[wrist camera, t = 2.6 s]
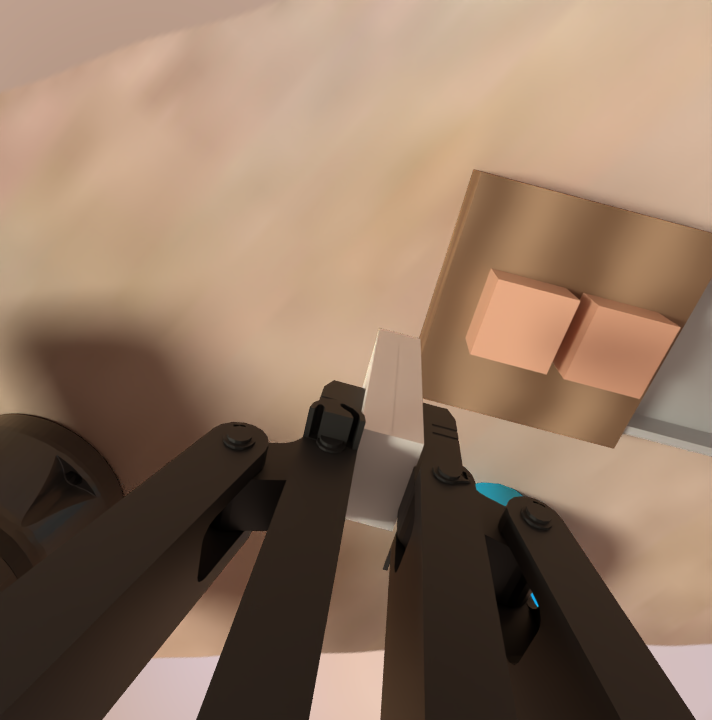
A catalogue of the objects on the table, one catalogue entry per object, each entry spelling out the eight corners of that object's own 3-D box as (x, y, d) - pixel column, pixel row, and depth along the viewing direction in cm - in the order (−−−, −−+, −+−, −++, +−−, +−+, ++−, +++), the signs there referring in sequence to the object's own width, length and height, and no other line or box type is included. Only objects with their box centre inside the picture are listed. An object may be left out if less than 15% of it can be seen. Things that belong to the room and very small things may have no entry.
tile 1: (551, 361, 29) (563, 379, 27) (583, 292, 27) (598, 305, 25) (622, 379, 29) (639, 399, 27) (658, 312, 27) (680, 327, 25)
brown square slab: (408, 371, 34) (408, 394, 31) (473, 169, 29) (481, 172, 25) (594, 420, 35) (613, 448, 31) (697, 229, 29) (733, 239, 26)
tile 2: (465, 338, 29) (470, 354, 27) (490, 268, 27) (498, 279, 25) (535, 356, 29) (546, 374, 27) (566, 288, 27) (580, 300, 25)
